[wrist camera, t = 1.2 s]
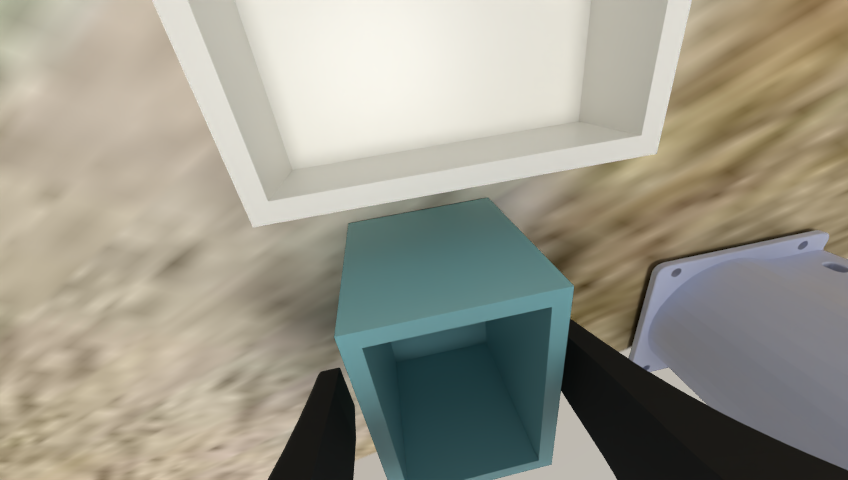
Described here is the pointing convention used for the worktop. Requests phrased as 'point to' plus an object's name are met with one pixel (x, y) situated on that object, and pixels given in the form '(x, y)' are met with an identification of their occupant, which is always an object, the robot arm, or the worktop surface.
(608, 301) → the worktop surface
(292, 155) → the white crate
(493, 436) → the teal crate
